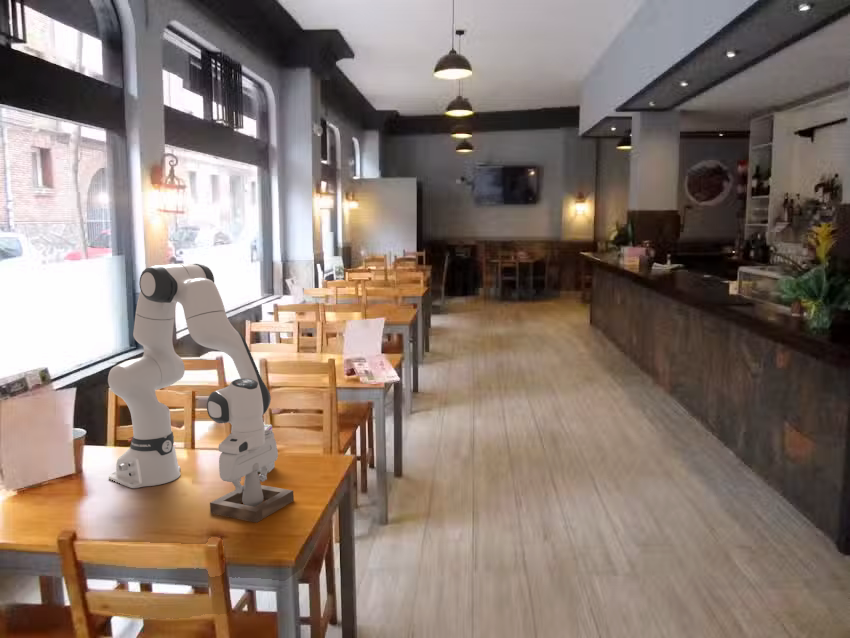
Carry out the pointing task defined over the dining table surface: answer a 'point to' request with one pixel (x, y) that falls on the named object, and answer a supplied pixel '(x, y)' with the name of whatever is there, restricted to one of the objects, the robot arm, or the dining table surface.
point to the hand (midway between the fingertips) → (251, 486)
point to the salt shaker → (252, 488)
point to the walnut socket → (232, 509)
